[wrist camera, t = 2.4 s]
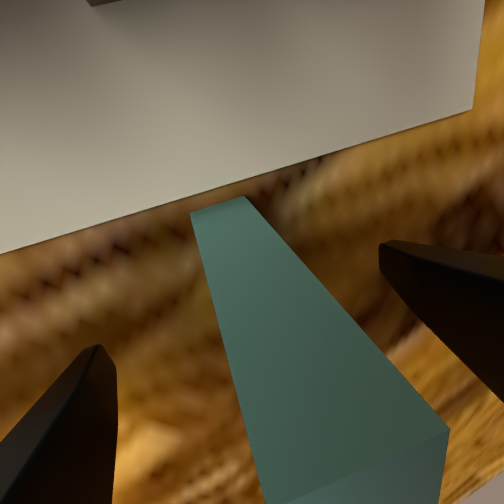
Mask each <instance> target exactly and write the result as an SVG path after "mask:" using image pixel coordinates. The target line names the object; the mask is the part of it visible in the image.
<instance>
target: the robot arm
mask: <svg viewBox="0 0 504 504" xmlns="http://www.w3.org/2000/svg"><path fill="white" fill-rule="evenodd" d="M378 253H379V269H380V272H381V273H382V275H383V276H384V277H385V279H386V280H387V281H388V282H389V284H390V285H391V286H392V287H393V288H394V290H395V291H396V292H397V293H398V295H399V296H400V297H401V298H402V300H403V301H404V302H405V303H406V305H407V306H408V307H409V308H410V309H411V310H412V311H413V312H414V314H415V315H416V316H417V317H418V318H419V319H420V320H421V321H422V322H423V323H424V324H425V325H426V326H427V327H428V328H429V329H430V330H431V331H432V332H433V333H434V334H435V335H436V336H437V337H438V338H439V339H440V340H441V341H442V342H443V343H444V344H445V345H446V346H447V347H448V348H449V349H450V350H451V351H452V352H453V353H454V354H455V355H456V356H457V357H458V358H459V359H460V360H461V361H462V362H463V363H464V364H465V365H466V366H467V367H468V368H469V369H470V370H471V371H472V372H473V373H474V374H475V375H476V376H477V377H478V378H479V379H480V380H481V381H482V382H483V383H484V384H485V385H486V386H487V387H488V388H489V389H490V390H491V391H492V392H493V393H494V394H495V395H496V396H497V397H498V398H499V399H500V400H501V401H502V402H503V403H504V257H503V256H497V255H490V254H483V253H477V252H470V251H464V250H457V249H451V248H444V247H438V246H431V245H424V244H418V243H411V242H405V241H398V240H389V241H387V242H384V243H381V244H380V245H379V248H378ZM117 434H118V401H117V372H116V367H115V364H114V362H113V361H112V359H111V358H110V356H109V355H108V353H107V352H106V350H105V349H104V347H103V346H102V345H100V344H96V345H93V346H90V347H88V348H85V349H83V350H82V351H81V353H80V354H79V355H78V356H77V357H76V358H75V359H74V360H73V362H72V363H71V364H70V365H69V366H68V367H67V368H66V369H65V371H64V372H63V373H62V374H61V375H60V376H59V377H58V378H57V379H56V381H55V382H54V383H53V384H52V385H51V386H50V387H49V388H48V390H47V391H46V392H45V393H44V394H43V395H42V396H41V397H40V399H39V400H38V401H37V402H36V403H35V404H34V405H33V406H32V408H31V409H30V410H29V411H28V412H27V413H26V414H25V415H24V416H23V418H22V419H21V420H20V421H19V422H18V423H17V424H16V425H15V427H14V428H13V429H12V430H11V431H10V432H9V433H8V434H7V436H6V437H5V438H4V439H3V440H2V441H1V442H0V504H112V494H113V482H114V470H115V458H116V446H117Z"/></svg>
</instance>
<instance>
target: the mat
mask: <svg viewBox="0 0 504 504" xmlns="http://www.w3.org/2000/svg"><path fill="white" fill-rule="evenodd" d="M484 5H485V0H121V1H116V2H112V3H107V4H103V5H98V6H94V7H91V6H90V5H89V3H88V2H87V1H86V0H0V254H2V253H5V252H8V251H12V250H15V249H18V248H21V247H25V246H28V245H31V244H35V243H38V242H41V241H44V240H48V239H51V238H54V237H57V236H61V235H64V234H67V233H70V232H74V231H77V230H80V229H83V228H87V227H90V226H93V225H96V224H100V223H103V222H106V221H109V220H113V219H116V218H119V217H122V216H126V215H129V214H132V213H136V212H139V211H142V210H145V209H149V208H152V207H155V206H158V205H162V204H165V203H168V202H171V201H175V200H178V199H181V198H184V197H188V196H191V195H194V194H197V193H201V192H204V191H207V190H210V189H214V188H217V187H220V186H223V185H227V184H230V183H233V182H236V181H240V180H243V179H246V178H250V177H253V176H256V175H259V174H263V173H266V172H269V171H272V170H276V169H279V168H282V167H285V166H289V165H292V164H295V163H298V162H302V161H305V160H308V159H311V158H315V157H318V156H321V155H324V154H328V153H331V152H334V151H337V150H341V149H344V148H347V147H351V146H354V145H357V144H360V143H364V142H367V141H370V140H373V139H377V138H380V137H383V136H386V135H390V134H393V133H396V132H399V131H403V130H406V129H409V128H412V127H416V126H419V125H422V124H425V123H429V122H432V121H435V120H438V119H442V118H445V117H448V116H451V115H455V114H458V113H461V112H465V111H468V110H471V109H472V107H473V98H474V90H475V81H476V73H477V64H478V56H479V47H480V39H481V30H482V22H483V13H484Z"/></svg>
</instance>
